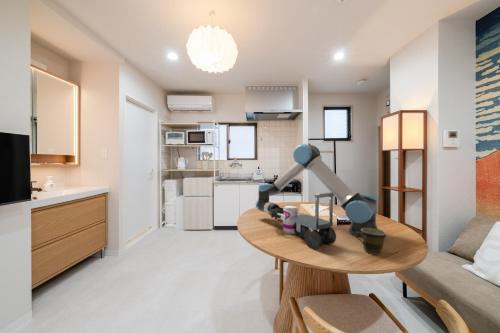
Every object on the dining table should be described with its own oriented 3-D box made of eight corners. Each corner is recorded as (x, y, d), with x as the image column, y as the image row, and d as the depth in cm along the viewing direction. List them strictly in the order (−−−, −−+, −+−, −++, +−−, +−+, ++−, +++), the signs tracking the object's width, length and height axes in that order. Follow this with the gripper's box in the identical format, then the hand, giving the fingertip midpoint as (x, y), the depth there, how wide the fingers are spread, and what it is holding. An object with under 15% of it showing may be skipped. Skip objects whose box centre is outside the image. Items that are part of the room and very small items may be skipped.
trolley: (287, 236, 118) (288, 188, 117) (303, 232, 124) (304, 187, 123) (318, 251, 99) (319, 195, 98) (335, 246, 105) (337, 193, 104)
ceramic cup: (378, 248, 104) (379, 228, 103) (389, 258, 94) (390, 235, 93) (350, 247, 105) (351, 227, 105) (359, 256, 95) (359, 234, 95)
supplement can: (288, 235, 120) (288, 208, 119) (280, 230, 127) (280, 205, 127) (300, 233, 123) (300, 207, 122) (291, 229, 131) (292, 204, 130)
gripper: (286, 212, 147) (309, 220, 128) (255, 216, 134) (276, 226, 116) (286, 201, 146) (310, 207, 128) (256, 205, 134) (277, 212, 115)
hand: (294, 216), depth 122 cm, fingers open, 13 cm apart
